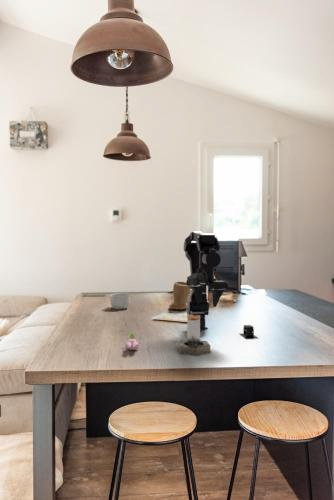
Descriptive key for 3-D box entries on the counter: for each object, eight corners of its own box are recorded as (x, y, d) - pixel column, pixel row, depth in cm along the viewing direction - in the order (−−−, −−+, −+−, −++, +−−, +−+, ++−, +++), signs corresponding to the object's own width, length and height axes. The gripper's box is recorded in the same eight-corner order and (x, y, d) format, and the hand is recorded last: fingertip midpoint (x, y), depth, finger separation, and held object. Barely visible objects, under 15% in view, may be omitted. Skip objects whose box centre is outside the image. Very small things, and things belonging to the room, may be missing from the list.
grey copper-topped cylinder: (185, 349, 153) (185, 314, 152) (197, 348, 154) (197, 313, 154) (190, 353, 148) (190, 317, 148) (202, 351, 150) (202, 316, 149)
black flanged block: (235, 334, 179) (235, 323, 178) (252, 333, 180) (252, 322, 179) (244, 341, 166) (244, 329, 166) (263, 340, 167) (263, 329, 167)
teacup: (132, 309, 236) (132, 295, 235) (112, 310, 232) (112, 296, 231) (125, 305, 249) (124, 291, 248) (106, 306, 245) (106, 292, 244)
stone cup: (189, 311, 229) (189, 283, 229) (167, 310, 231) (167, 282, 231) (192, 306, 244) (192, 280, 244) (171, 306, 246) (171, 279, 246)
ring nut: (170, 350, 152) (170, 343, 152) (197, 344, 159) (197, 338, 159) (189, 357, 143) (189, 349, 143) (216, 351, 150) (216, 344, 150)
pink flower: (124, 348, 161) (122, 352, 146) (124, 331, 161) (122, 334, 147) (141, 347, 161) (141, 352, 146) (140, 331, 162) (140, 334, 147)
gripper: (175, 265, 171) (175, 304, 172) (207, 268, 156) (207, 310, 157) (197, 264, 178) (197, 301, 178) (229, 266, 163) (229, 307, 163)
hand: (206, 305), depth 169 cm, fingers open, 9 cm apart
